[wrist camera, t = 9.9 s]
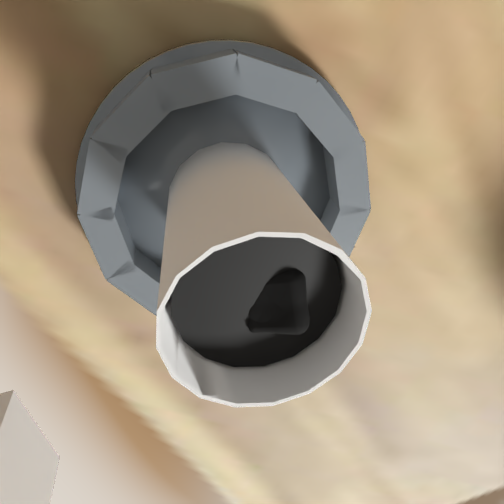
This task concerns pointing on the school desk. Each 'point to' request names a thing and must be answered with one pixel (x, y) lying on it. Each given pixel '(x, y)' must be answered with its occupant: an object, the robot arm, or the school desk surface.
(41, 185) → the school desk surface
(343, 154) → the grey round dish
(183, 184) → the grey cup
